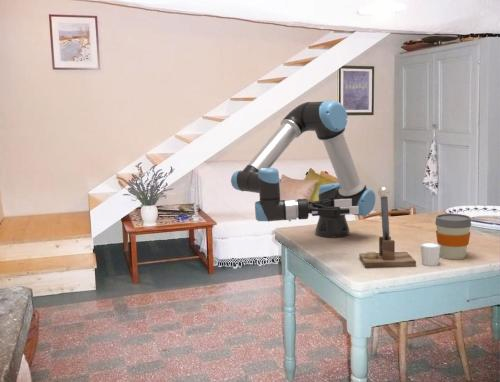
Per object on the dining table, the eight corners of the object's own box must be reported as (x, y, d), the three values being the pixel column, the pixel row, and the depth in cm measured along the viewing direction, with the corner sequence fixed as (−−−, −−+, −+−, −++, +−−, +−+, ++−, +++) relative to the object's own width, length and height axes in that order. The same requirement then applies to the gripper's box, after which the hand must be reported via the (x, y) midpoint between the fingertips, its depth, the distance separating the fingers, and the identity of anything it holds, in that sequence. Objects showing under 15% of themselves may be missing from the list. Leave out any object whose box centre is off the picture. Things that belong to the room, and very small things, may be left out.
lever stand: (359, 258, 201) (359, 235, 200) (406, 256, 200) (406, 233, 199) (365, 268, 189) (365, 244, 188) (415, 266, 189) (416, 242, 187)
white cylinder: (421, 266, 189) (421, 247, 188) (419, 260, 195) (419, 242, 194) (441, 266, 187) (441, 247, 186) (438, 260, 194) (439, 242, 193)
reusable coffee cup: (454, 249, 207) (455, 212, 205) (477, 257, 195) (479, 218, 193) (427, 253, 203) (428, 215, 201) (450, 262, 191) (450, 222, 189)
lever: (380, 249, 196) (376, 186, 192) (391, 249, 196) (387, 185, 192) (382, 252, 192) (379, 188, 188) (393, 252, 192) (390, 187, 188)
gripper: (295, 211, 206) (349, 208, 206) (300, 227, 182) (361, 224, 181) (294, 193, 205) (348, 190, 205) (299, 206, 181) (361, 202, 180)
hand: (355, 206), depth 193 cm, fingers open, 13 cm apart
